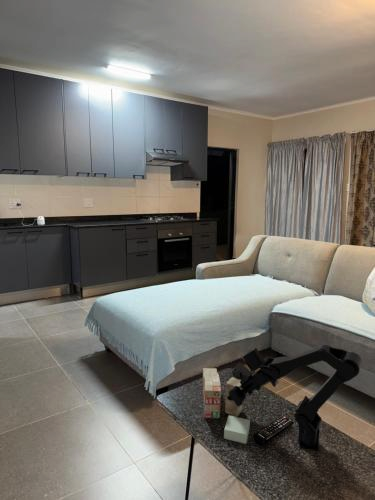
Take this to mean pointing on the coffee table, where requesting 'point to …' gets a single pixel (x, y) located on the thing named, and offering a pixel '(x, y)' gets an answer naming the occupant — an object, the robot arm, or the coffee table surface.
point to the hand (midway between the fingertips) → (231, 395)
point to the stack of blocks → (211, 393)
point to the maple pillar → (230, 405)
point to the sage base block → (237, 429)
